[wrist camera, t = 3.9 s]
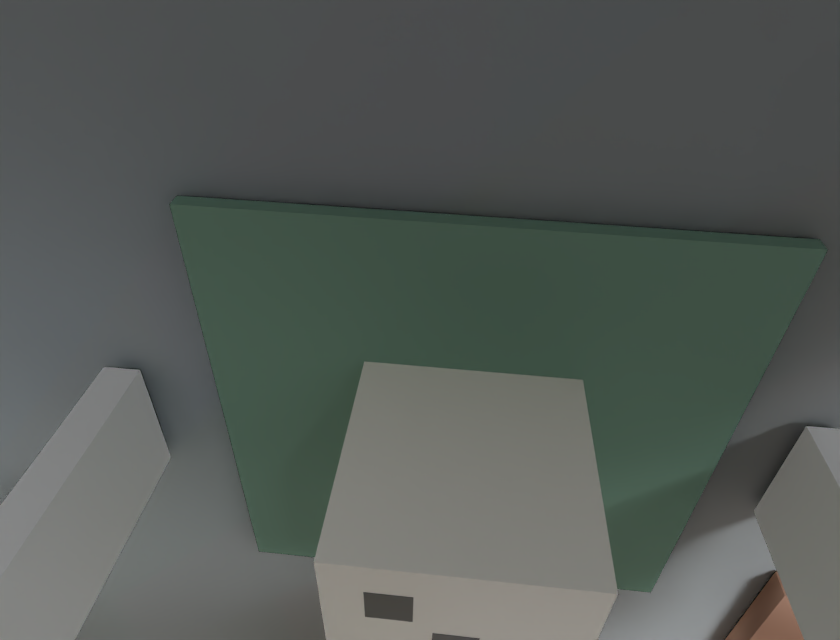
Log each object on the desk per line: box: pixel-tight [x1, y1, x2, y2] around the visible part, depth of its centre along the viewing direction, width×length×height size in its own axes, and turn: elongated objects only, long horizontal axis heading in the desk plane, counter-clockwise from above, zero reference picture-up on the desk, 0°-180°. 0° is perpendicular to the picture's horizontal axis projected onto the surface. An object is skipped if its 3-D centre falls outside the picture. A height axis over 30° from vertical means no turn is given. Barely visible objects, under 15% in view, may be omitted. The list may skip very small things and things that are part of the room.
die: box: [314, 361, 618, 640], centre depth 11 cm, size 4×4×4 cm
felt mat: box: [169, 196, 828, 592], centre depth 12 cm, size 10×10×1 cm
